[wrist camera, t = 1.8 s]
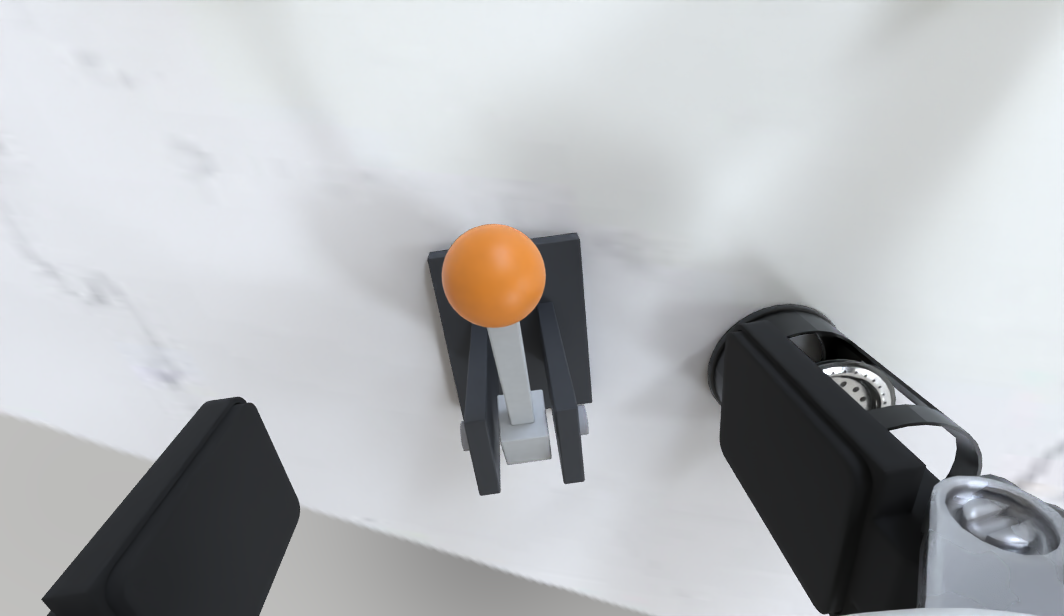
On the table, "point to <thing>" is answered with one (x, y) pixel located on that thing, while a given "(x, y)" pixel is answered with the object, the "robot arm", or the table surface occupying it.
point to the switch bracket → (550, 360)
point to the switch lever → (503, 324)
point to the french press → (861, 382)
